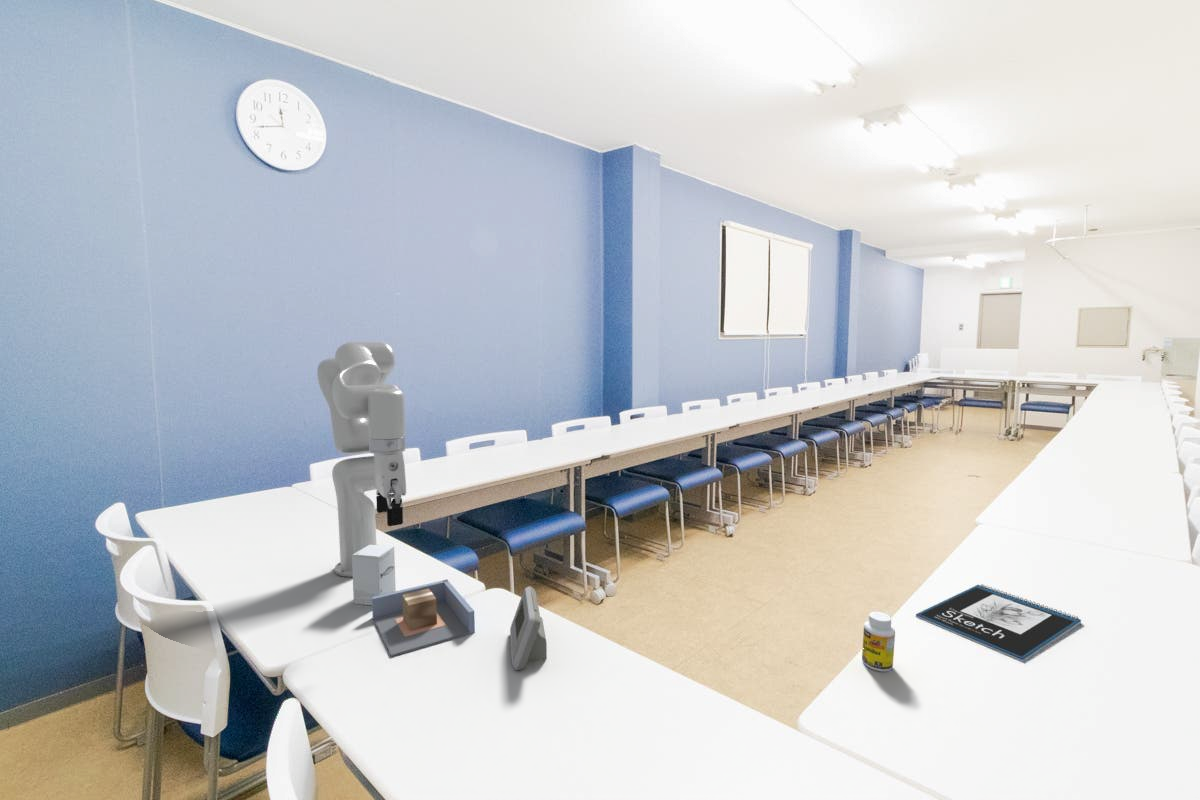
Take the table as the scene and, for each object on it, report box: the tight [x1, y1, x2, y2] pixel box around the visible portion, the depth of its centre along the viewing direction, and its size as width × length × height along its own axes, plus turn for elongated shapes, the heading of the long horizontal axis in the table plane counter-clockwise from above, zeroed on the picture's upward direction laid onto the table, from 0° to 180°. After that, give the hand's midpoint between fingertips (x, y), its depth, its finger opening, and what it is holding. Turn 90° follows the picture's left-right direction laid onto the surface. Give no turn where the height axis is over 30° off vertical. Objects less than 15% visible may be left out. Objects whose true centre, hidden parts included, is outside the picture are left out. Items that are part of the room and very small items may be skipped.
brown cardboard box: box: [402, 589, 437, 631], centre depth 126 cm, size 6×6×6 cm
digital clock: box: [509, 585, 548, 671], centre depth 115 cm, size 16×9×11 cm, turn 179°
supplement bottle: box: [861, 611, 896, 672], centre depth 110 cm, size 6×6×10 cm
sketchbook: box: [915, 583, 1082, 663], centre depth 129 cm, size 22×30×2 cm
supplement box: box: [352, 544, 397, 606], centre depth 138 cm, size 7×7×13 cm
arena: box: [371, 579, 476, 658], centre depth 126 cm, size 19×18×5 cm
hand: (389, 518), depth 126 cm, fingers open, 9 cm apart
